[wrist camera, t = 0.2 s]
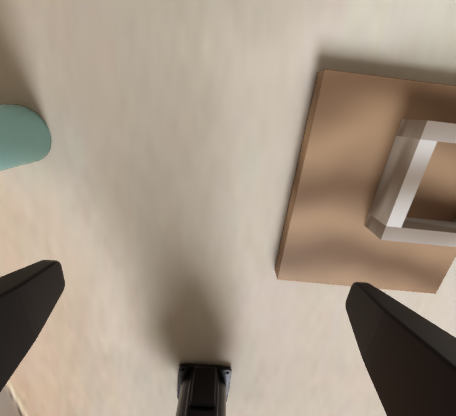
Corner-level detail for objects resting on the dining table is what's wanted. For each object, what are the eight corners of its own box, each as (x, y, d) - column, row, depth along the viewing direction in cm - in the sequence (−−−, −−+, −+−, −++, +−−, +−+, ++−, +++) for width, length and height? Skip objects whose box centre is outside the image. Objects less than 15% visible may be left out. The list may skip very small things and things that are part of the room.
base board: (424, 283, 26) (457, 312, 22) (274, 270, 25) (282, 298, 21) (518, 97, 19) (588, 94, 15) (317, 72, 18) (340, 63, 15)
